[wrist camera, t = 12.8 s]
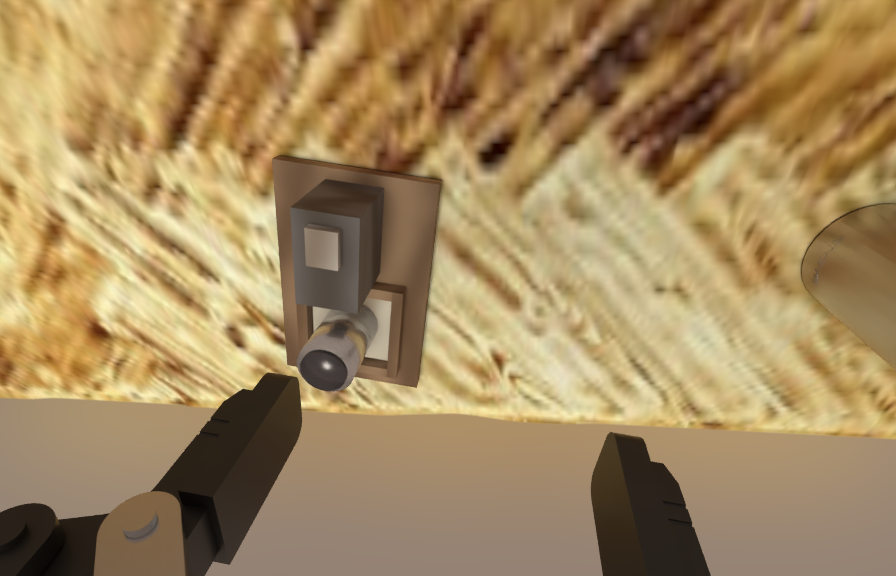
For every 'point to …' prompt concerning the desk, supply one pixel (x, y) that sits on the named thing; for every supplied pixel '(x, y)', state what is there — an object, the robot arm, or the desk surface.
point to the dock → (396, 260)
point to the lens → (337, 349)
